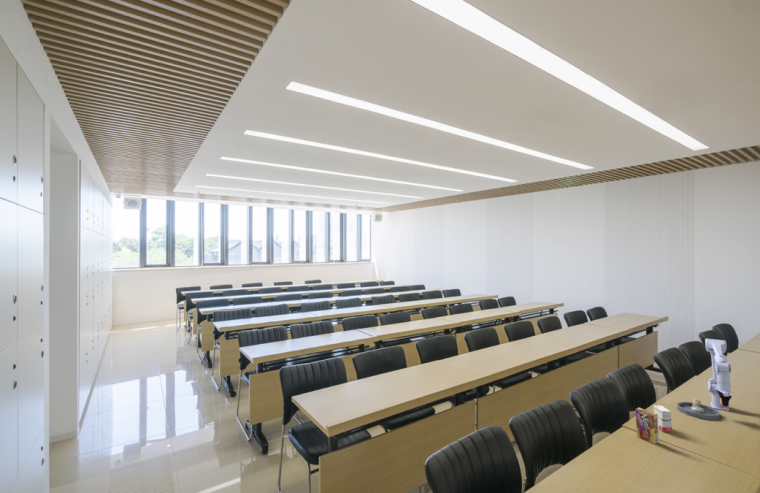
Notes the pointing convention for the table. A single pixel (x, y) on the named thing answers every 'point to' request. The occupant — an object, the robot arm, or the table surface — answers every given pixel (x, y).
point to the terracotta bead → (722, 404)
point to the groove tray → (698, 411)
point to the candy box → (647, 425)
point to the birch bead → (696, 403)
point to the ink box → (663, 418)
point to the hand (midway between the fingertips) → (724, 404)
